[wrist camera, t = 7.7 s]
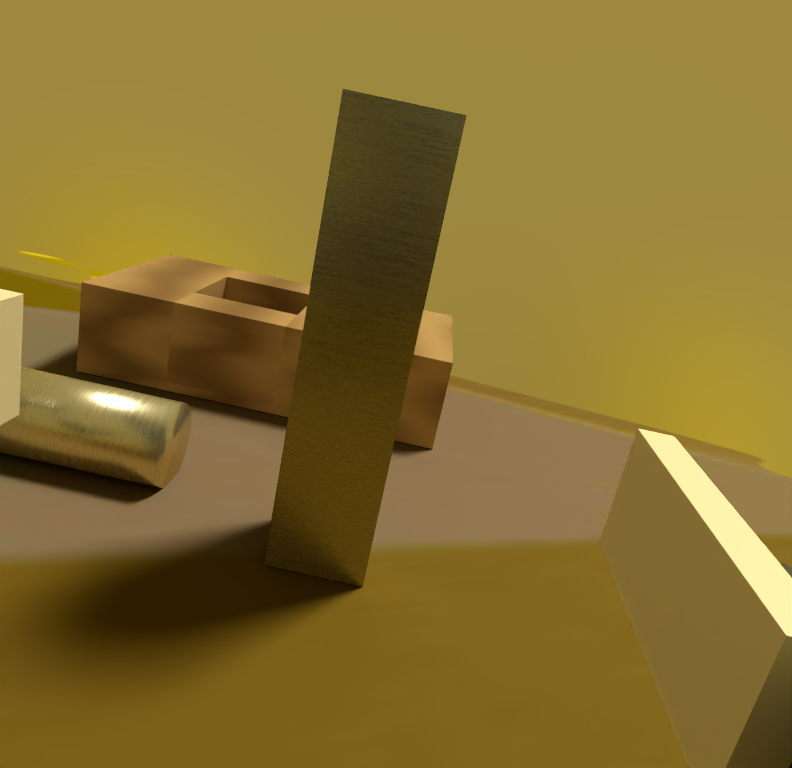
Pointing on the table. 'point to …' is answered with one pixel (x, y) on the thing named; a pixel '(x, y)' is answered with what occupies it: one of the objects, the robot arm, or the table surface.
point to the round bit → (97, 428)
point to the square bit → (360, 330)
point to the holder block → (231, 339)
